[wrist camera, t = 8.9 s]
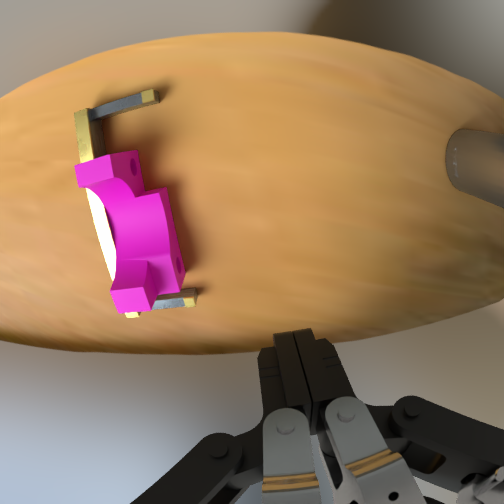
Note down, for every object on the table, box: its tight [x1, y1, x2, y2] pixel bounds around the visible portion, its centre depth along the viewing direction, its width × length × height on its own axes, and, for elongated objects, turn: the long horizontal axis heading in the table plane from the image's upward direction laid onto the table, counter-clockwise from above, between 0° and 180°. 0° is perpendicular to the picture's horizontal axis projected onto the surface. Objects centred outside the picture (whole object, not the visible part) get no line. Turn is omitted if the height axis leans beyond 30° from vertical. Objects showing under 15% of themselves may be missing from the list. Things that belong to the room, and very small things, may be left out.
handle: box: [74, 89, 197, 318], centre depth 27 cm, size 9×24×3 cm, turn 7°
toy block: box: [75, 150, 186, 313], centre depth 26 cm, size 15×6×8 cm, turn 7°
